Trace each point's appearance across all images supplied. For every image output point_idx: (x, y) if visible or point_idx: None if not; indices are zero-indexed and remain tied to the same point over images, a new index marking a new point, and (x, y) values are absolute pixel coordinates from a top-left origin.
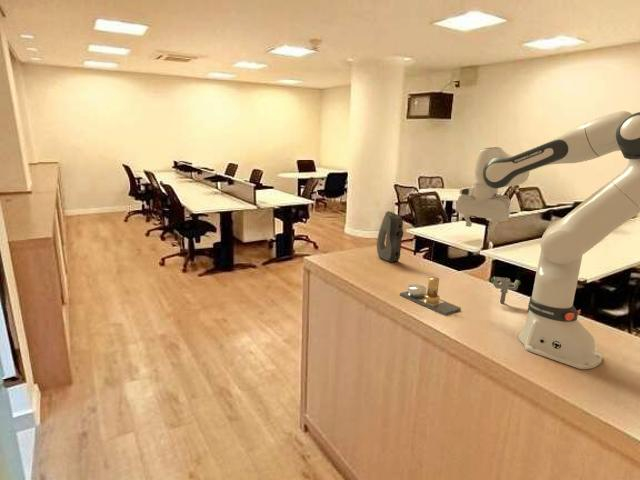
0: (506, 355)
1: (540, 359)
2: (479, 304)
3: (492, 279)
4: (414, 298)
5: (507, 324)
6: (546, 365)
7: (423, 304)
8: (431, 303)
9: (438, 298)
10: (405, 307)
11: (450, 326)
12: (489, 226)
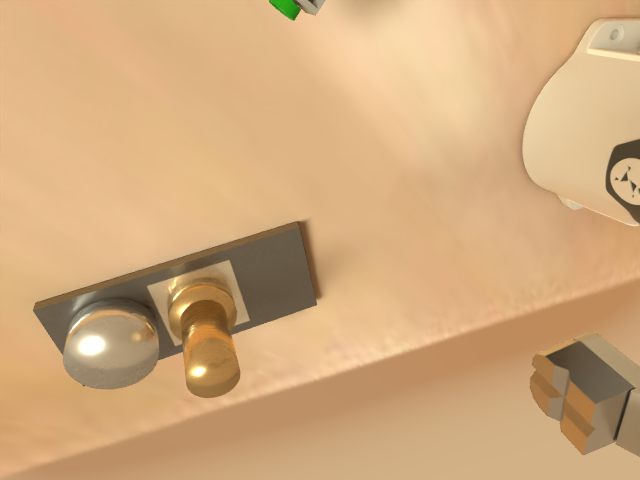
0: (547, 270)
1: None
2: (268, 88)
3: (294, 17)
4: (159, 354)
5: (457, 128)
6: None
7: None
8: None
9: (234, 303)
10: None
11: (381, 319)
12: (592, 437)
